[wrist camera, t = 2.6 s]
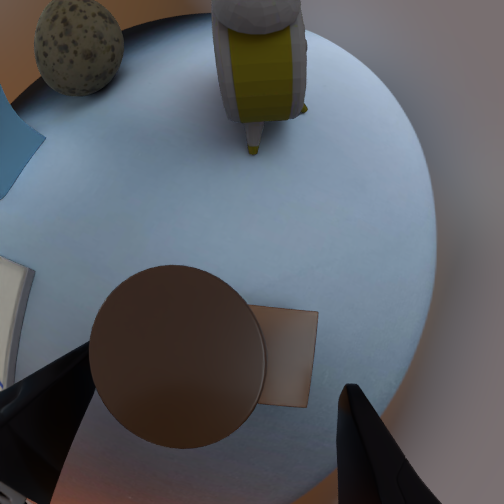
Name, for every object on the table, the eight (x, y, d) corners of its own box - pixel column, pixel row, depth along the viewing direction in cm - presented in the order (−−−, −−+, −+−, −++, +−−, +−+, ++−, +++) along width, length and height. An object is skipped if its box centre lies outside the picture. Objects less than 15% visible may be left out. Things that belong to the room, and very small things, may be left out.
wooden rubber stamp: (298, 394, 17) (361, 496, 4) (178, 376, 18) (18, 408, 4) (307, 319, 18) (392, 251, 5) (189, 305, 19) (49, 219, 6)
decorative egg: (148, 77, 28) (108, -25, 14) (72, 128, 26) (8, 38, 12) (123, 53, 31) (90, -26, 17) (60, 94, 30) (14, 23, 15)
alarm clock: (232, 80, 26) (212, -48, 12) (297, 76, 26) (301, -52, 12) (234, 166, 23) (197, -12, 8) (318, 160, 22) (348, -15, 8)
